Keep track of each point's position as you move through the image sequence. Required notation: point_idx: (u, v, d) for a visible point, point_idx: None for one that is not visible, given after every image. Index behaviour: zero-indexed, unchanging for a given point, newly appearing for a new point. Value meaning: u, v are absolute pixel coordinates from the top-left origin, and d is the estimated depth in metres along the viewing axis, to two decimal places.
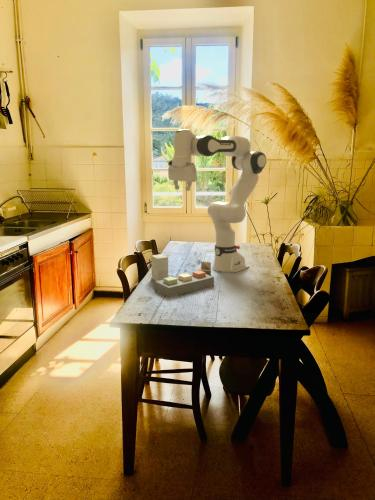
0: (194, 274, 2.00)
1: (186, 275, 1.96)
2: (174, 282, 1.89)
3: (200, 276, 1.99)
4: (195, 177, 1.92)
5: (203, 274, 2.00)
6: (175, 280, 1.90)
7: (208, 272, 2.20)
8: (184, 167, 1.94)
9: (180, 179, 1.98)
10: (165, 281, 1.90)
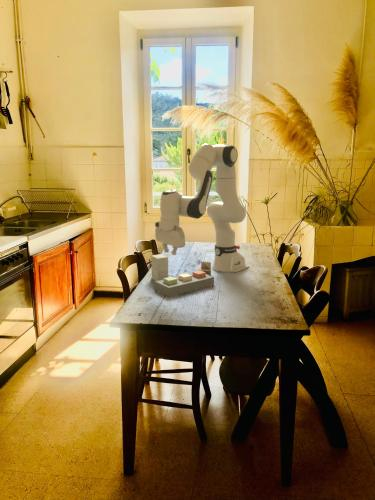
0: (194, 274, 2.00)
1: (186, 275, 1.96)
2: (174, 282, 1.89)
3: (200, 276, 1.99)
4: (183, 243, 1.79)
5: (203, 274, 2.00)
6: (175, 280, 1.90)
7: (208, 272, 2.20)
8: (171, 231, 1.81)
9: (168, 243, 1.84)
10: (165, 281, 1.90)
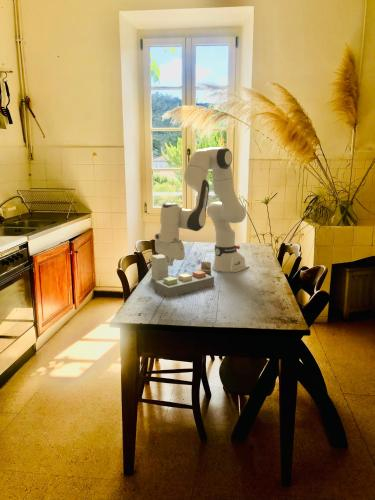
0: (194, 274, 2.00)
1: (186, 275, 1.96)
2: (174, 282, 1.89)
3: (200, 276, 1.99)
4: (183, 255, 1.80)
5: (203, 274, 2.00)
6: (175, 280, 1.90)
7: (208, 272, 2.20)
8: (171, 243, 1.82)
9: (167, 255, 1.86)
10: (165, 281, 1.90)
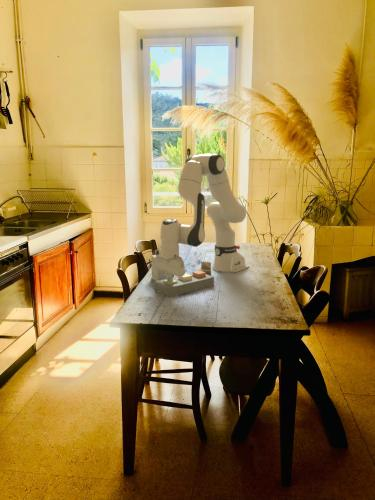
0: (194, 274, 2.00)
1: (186, 275, 1.96)
2: None
3: (200, 276, 1.99)
4: (183, 272, 1.82)
5: (203, 274, 2.00)
6: (175, 282, 1.90)
7: (208, 272, 2.20)
8: (171, 260, 1.84)
9: (168, 271, 1.88)
10: (165, 283, 1.90)
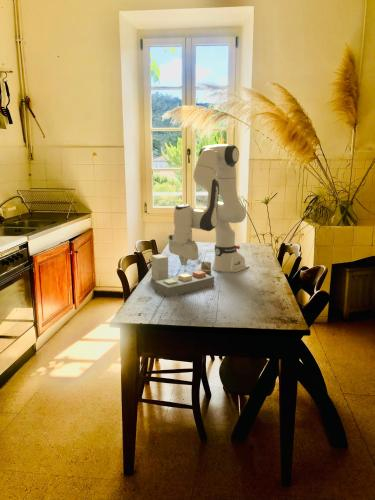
0: (194, 274, 2.00)
1: (186, 275, 1.96)
2: None
3: (200, 276, 1.99)
4: (197, 255, 1.85)
5: (203, 274, 2.00)
6: (175, 283, 1.90)
7: (208, 272, 2.20)
8: (185, 244, 1.87)
9: (181, 255, 1.91)
10: None
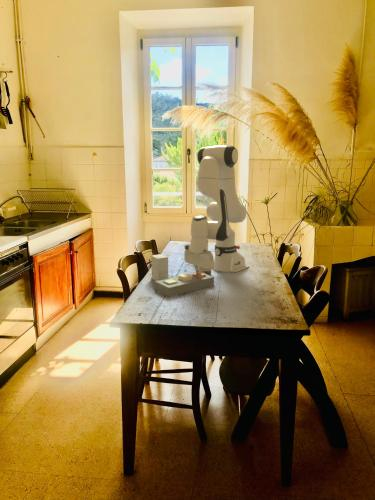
0: (194, 276, 2.01)
1: (186, 275, 1.96)
2: None
3: None
4: (212, 265, 1.92)
5: (203, 276, 2.00)
6: (175, 283, 1.90)
7: (208, 272, 2.20)
8: (201, 254, 1.94)
9: (197, 265, 1.98)
10: None
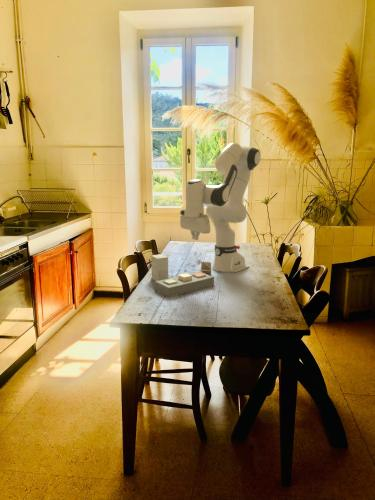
0: None
1: (186, 275, 1.96)
2: None
3: None
4: (208, 229, 1.90)
5: None
6: (175, 283, 1.90)
7: (208, 272, 2.20)
8: (197, 218, 1.92)
9: (193, 229, 1.96)
10: None
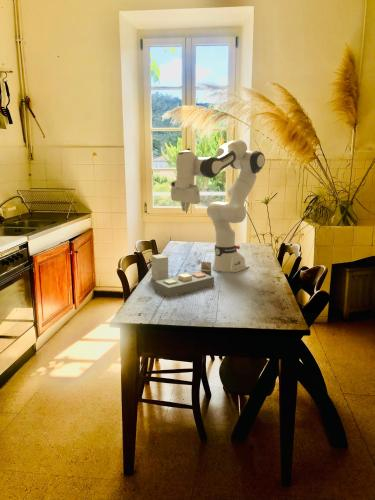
0: None
1: (186, 275, 1.96)
2: None
3: None
4: (198, 199, 1.91)
5: None
6: (175, 283, 1.90)
7: (208, 272, 2.20)
8: (187, 189, 1.93)
9: (183, 201, 1.97)
10: None
